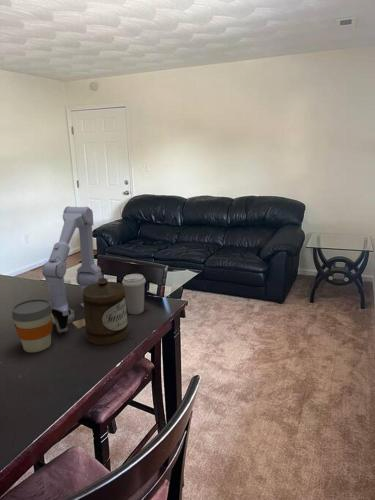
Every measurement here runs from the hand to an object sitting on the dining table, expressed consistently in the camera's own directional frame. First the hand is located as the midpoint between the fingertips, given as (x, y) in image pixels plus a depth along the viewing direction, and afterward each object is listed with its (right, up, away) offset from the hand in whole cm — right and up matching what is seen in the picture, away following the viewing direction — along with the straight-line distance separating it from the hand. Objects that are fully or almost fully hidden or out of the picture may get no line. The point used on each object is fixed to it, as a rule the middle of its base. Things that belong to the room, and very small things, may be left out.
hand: (61, 326), depth 138 cm
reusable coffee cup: (-5, -5, -10) cm, 12 cm away
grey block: (0, -2, 0) cm, 2 cm away
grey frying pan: (-6, 0, +7) cm, 9 cm away
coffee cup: (+26, +3, +15) cm, 30 cm away
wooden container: (+18, -2, -3) cm, 19 cm away
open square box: (-2, +3, +7) cm, 8 cm away
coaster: (+6, 0, +5) cm, 8 cm away
